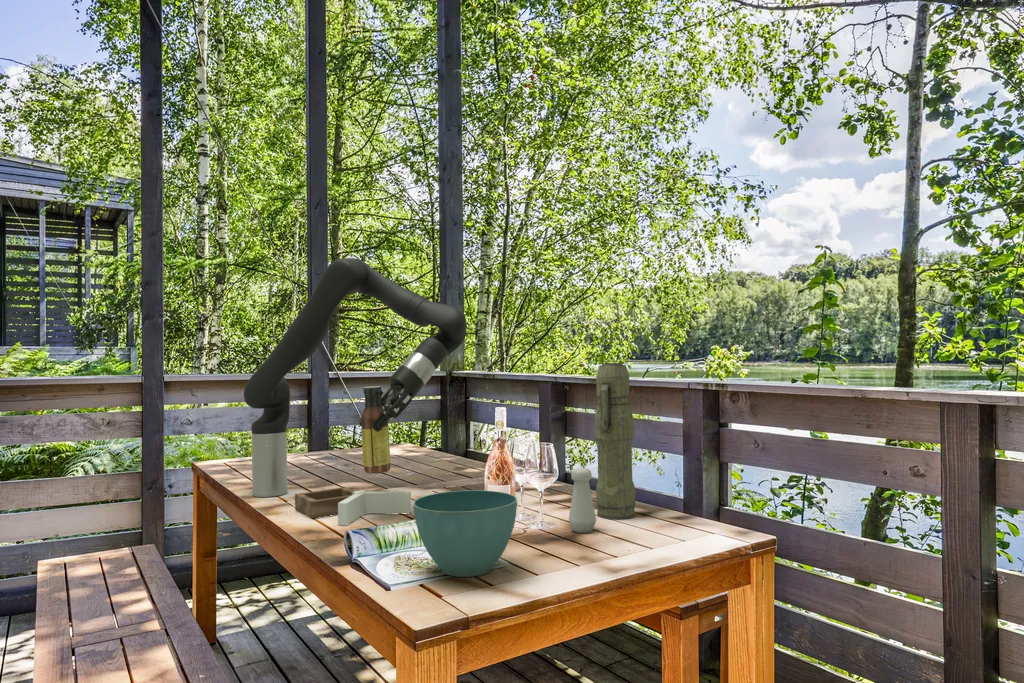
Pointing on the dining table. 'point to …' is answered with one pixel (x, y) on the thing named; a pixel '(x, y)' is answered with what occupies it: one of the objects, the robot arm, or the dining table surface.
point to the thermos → (614, 443)
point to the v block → (372, 504)
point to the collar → (321, 502)
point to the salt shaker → (582, 502)
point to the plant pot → (465, 529)
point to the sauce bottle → (374, 434)
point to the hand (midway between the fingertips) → (368, 428)
